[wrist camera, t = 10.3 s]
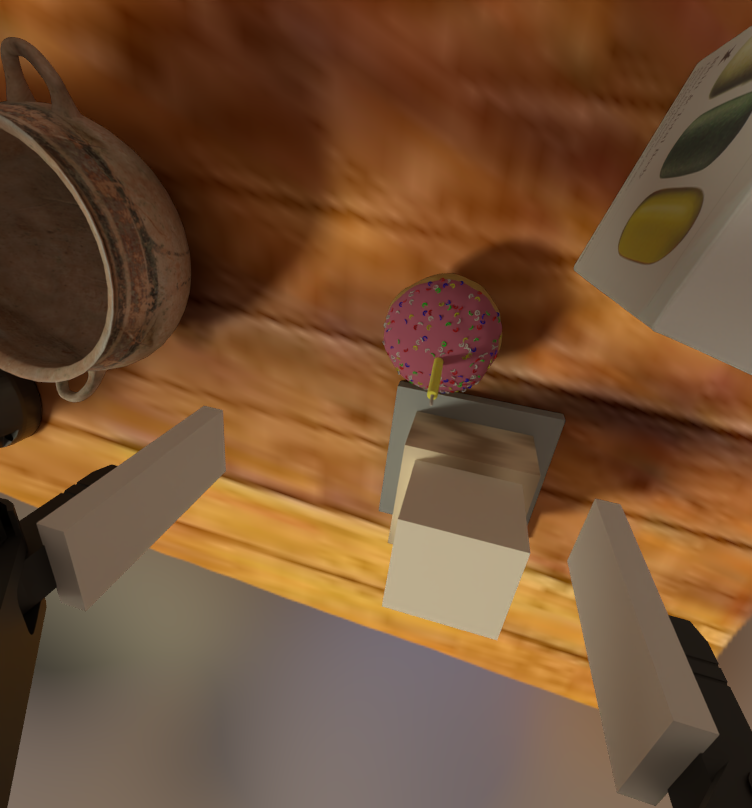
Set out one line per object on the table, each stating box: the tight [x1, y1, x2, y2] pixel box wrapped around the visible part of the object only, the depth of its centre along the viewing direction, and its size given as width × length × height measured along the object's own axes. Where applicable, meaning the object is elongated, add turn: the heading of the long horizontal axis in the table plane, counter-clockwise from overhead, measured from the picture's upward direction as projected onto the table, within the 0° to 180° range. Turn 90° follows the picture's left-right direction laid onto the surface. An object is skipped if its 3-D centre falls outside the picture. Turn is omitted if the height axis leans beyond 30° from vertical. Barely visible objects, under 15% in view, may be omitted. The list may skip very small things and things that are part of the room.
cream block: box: [382, 459, 530, 640], centre depth 31 cm, size 8×8×7 cm
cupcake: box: [383, 273, 502, 406], centre depth 29 cm, size 9×8×12 cm
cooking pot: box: [0, 37, 191, 402], centre depth 33 cm, size 25×19×12 cm
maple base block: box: [388, 411, 541, 544], centre depth 36 cm, size 10×10×6 cm
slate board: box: [379, 381, 565, 525], centre depth 39 cm, size 14×14×1 cm
